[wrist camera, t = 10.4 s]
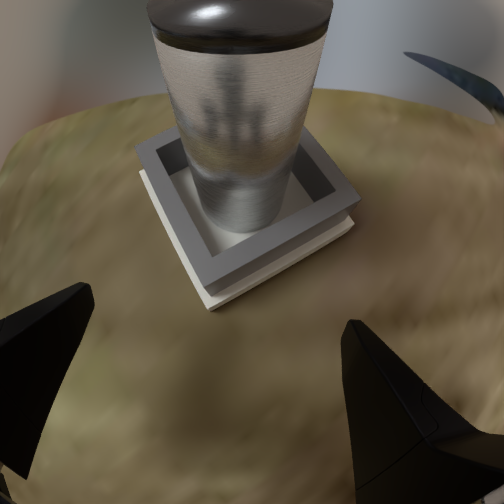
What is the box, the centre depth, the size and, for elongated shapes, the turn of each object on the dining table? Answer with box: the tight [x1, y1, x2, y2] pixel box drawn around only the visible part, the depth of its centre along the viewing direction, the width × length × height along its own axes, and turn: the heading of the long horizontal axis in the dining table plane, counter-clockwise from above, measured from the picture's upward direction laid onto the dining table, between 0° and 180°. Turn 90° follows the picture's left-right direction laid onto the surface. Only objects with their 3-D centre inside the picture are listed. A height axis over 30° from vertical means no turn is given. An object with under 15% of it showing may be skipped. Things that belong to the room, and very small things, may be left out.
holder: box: [134, 125, 362, 312], centre depth 17 cm, size 10×10×4 cm
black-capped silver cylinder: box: [147, 0, 333, 233], centre depth 11 cm, size 5×5×12 cm
